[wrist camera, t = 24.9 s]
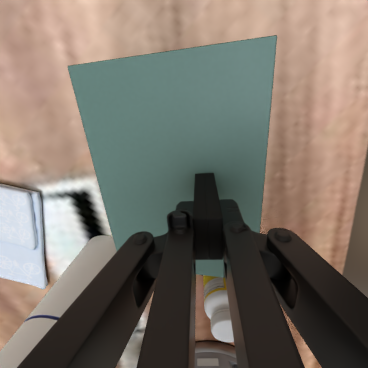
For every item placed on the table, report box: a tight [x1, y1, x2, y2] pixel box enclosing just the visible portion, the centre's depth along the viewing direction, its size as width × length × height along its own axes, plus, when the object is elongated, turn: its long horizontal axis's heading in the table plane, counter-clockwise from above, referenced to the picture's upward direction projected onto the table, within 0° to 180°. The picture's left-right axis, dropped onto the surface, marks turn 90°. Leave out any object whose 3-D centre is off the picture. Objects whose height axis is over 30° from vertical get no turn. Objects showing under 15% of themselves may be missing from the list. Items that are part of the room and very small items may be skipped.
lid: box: [68, 35, 277, 278], centre depth 18 cm, size 15×20×1 cm
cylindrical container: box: [0, 235, 117, 368], centre depth 21 cm, size 7×7×25 cm
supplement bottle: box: [203, 275, 234, 342], centre depth 27 cm, size 5×5×10 cm
